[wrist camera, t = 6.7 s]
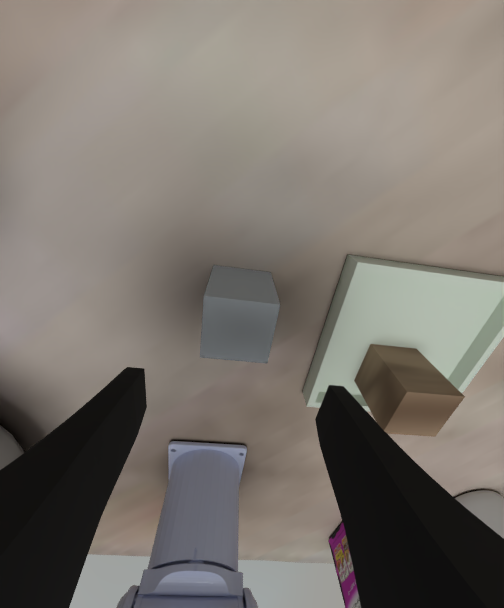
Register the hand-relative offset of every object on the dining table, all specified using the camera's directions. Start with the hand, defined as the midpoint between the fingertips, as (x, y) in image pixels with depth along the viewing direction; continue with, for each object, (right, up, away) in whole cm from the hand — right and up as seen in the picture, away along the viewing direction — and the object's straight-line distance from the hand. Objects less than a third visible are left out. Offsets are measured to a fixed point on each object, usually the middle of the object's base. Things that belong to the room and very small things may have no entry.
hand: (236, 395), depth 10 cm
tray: (+13, +1, +11) cm, 17 cm away
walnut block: (+12, -2, +11) cm, 16 cm away
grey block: (0, +4, +8) cm, 10 cm away
